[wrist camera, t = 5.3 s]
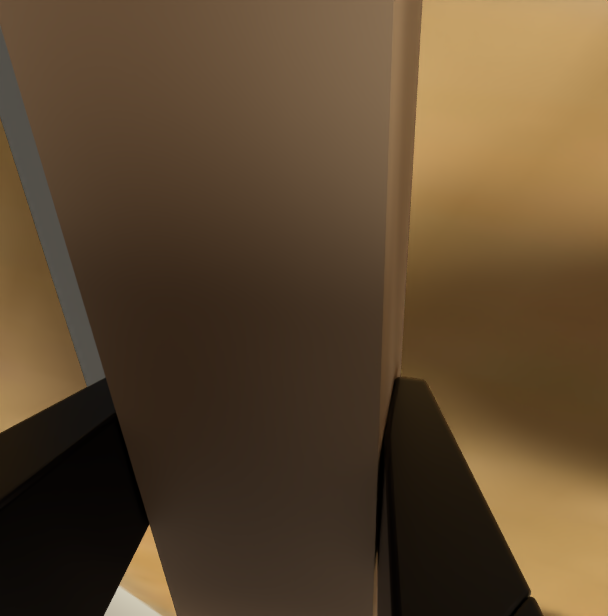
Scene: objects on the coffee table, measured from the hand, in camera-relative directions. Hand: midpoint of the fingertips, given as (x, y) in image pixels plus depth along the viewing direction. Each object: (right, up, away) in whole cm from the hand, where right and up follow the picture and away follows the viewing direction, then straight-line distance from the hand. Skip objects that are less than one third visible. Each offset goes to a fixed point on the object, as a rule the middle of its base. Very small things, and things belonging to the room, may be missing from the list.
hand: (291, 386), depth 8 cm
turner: (0, -2, +2) cm, 3 cm away
